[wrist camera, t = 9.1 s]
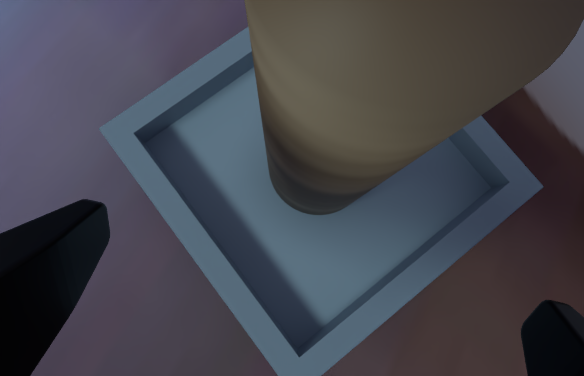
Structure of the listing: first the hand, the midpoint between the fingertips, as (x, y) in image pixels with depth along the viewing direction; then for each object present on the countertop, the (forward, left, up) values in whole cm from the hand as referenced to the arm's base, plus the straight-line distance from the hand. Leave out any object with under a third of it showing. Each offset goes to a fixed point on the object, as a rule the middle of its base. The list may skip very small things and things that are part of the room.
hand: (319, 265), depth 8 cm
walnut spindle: (+3, -3, -9) cm, 10 cm away
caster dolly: (+3, -3, -11) cm, 12 cm away
